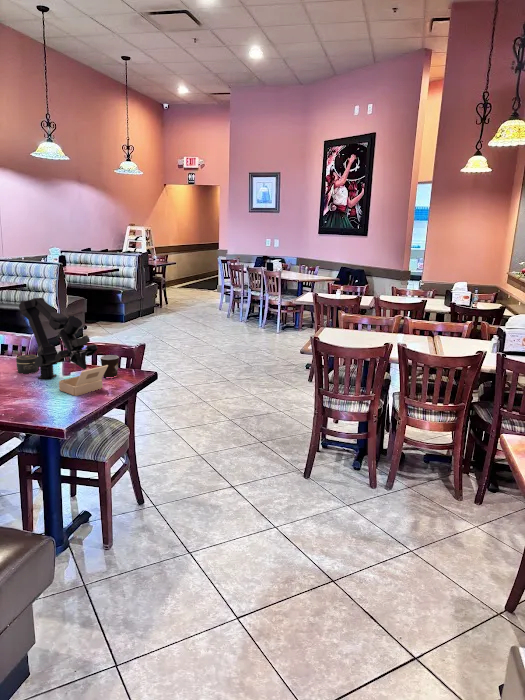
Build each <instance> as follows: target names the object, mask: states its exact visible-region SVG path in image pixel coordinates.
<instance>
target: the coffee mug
mask: <svg viewBox="0 0 525 700" xmlns="http://www.w3.org/2000/svg"><path fill="white" fill-rule="evenodd" d="M119 360H120V356H118V355H113V354H108V355H107V354H106V355H102V356H100V363H101V366H105V365H108V367H107V369H106V371H105V373H104V375H103V376H104V377H114V376H116V375H117V376H118V372H119V371H118V369H119ZM104 377H103V378H104Z"/></svg>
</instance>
